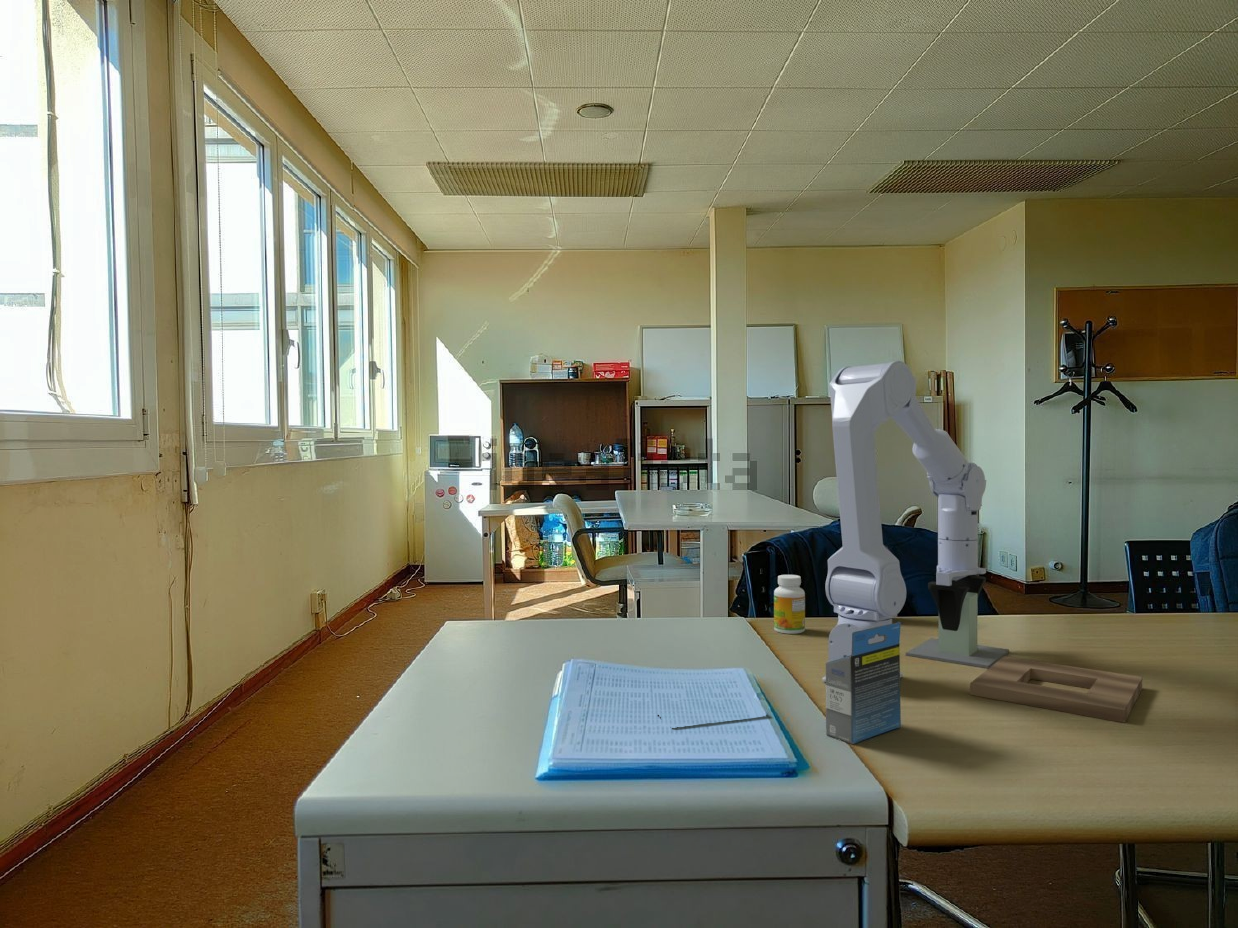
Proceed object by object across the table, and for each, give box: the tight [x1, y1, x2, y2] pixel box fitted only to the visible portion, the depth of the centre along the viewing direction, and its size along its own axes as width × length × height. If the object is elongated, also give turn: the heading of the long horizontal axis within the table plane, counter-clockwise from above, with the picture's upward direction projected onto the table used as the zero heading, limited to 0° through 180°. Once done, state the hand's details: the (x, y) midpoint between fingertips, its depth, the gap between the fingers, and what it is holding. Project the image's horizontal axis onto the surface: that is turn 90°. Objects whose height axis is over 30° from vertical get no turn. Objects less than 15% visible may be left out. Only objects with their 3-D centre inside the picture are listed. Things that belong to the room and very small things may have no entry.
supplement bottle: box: [773, 574, 806, 635], centre depth 138 cm, size 5×5×10 cm
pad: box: [905, 638, 1010, 669], centre depth 122 cm, size 12×12×1 cm
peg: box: [938, 592, 978, 656], centre depth 122 cm, size 4×4×9 cm
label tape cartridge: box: [825, 621, 902, 745], centre depth 88 cm, size 9×4×12 cm, turn 126°
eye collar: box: [969, 655, 1143, 724], centre depth 103 cm, size 17×17×2 cm
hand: (957, 625), depth 122 cm, fingers open, 7 cm apart
